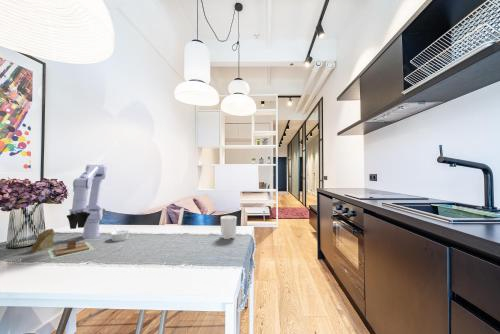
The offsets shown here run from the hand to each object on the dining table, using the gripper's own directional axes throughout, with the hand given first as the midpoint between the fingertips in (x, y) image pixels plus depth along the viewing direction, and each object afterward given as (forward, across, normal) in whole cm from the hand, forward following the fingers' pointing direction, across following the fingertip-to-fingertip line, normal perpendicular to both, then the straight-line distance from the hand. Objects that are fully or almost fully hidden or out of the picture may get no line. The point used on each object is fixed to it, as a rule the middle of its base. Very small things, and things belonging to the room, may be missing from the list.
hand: (76, 228), depth 106 cm
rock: (+9, -18, -7) cm, 21 cm away
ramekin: (+8, 0, +22) cm, 23 cm away
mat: (+10, -4, 0) cm, 11 cm away
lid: (+10, -4, 0) cm, 11 cm away
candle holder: (+12, +51, +57) cm, 78 cm away
